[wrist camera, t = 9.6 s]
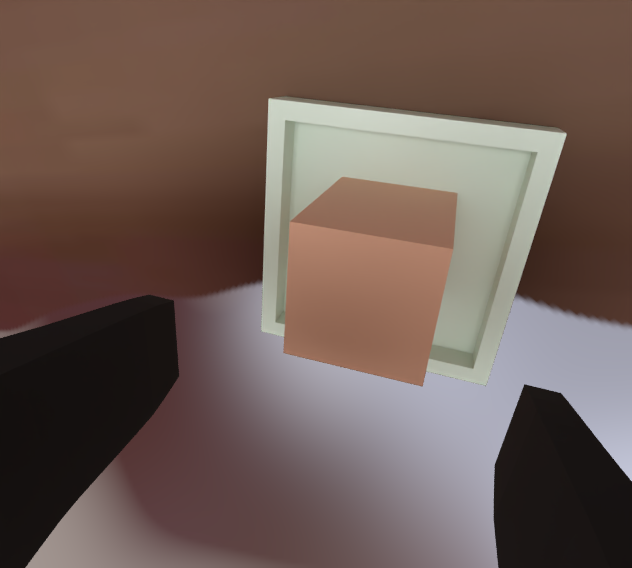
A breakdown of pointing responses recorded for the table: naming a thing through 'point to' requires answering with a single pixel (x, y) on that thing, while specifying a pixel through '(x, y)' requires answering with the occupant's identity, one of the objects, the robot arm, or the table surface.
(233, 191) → the table surface
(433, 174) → the tray
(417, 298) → the terracotta block
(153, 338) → the robot arm
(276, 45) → the table surface
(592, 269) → the table surface
